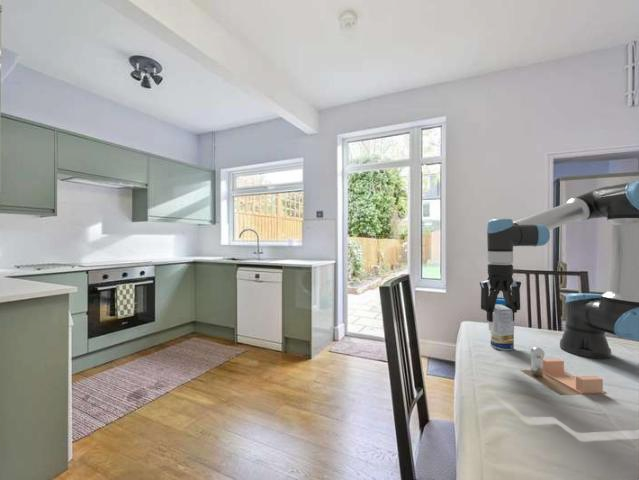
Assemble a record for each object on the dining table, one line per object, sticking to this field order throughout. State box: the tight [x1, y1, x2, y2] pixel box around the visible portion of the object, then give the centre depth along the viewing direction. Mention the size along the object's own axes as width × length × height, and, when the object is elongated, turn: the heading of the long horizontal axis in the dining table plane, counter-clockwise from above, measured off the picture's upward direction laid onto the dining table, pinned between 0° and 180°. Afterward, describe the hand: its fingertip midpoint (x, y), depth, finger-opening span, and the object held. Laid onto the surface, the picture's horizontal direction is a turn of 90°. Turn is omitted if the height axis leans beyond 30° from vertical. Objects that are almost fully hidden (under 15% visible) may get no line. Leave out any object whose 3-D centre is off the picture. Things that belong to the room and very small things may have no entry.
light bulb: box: [529, 346, 545, 378], centre depth 92 cm, size 4×4×9 cm
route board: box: [520, 369, 607, 396], centre depth 89 cm, size 14×15×1 cm
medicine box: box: [494, 304, 513, 335], centre depth 100 cm, size 8×4×9 cm, turn 170°
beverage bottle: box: [490, 296, 516, 351], centre depth 119 cm, size 8×8×20 cm
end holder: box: [543, 358, 605, 395], centre depth 88 cm, size 7×14×4 cm, turn 4°
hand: (500, 330), depth 100 cm, fingers closed on medicine box, 5 cm apart
